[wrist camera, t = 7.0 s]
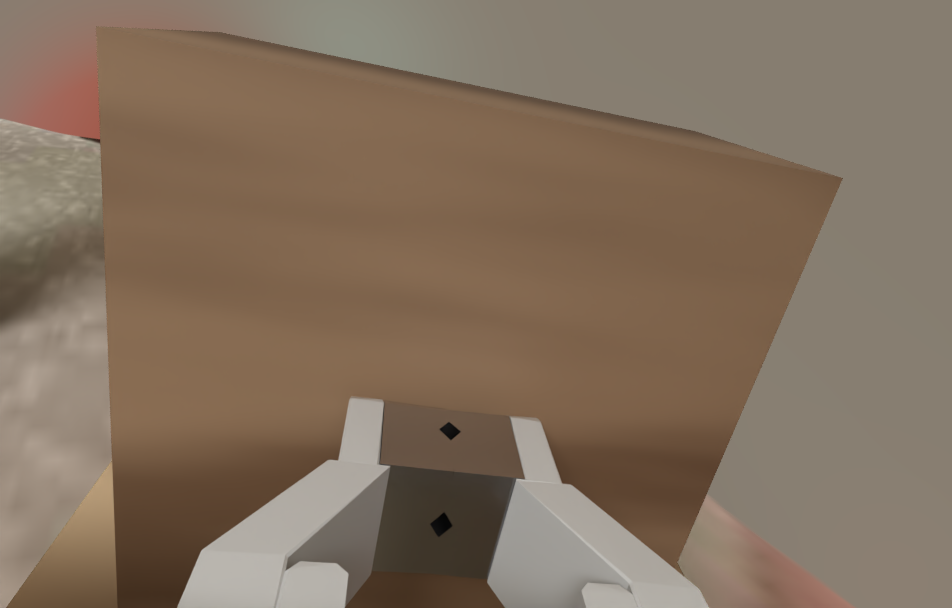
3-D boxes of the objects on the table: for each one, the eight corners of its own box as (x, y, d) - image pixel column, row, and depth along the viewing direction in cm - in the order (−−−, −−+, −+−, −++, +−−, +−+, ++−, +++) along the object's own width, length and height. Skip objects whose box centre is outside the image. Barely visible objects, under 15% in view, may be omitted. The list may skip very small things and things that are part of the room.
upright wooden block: (637, 653, 12) (842, 178, 9) (117, 628, 11) (95, 26, 7) (548, 410, 21) (633, 111, 17) (245, 374, 19) (266, 34, 15)
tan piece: (665, 904, 14) (765, 736, 11) (-24, 921, 11) (-70, 713, 9) (527, 432, 30) (556, 325, 28) (234, 399, 28) (241, 280, 25)
